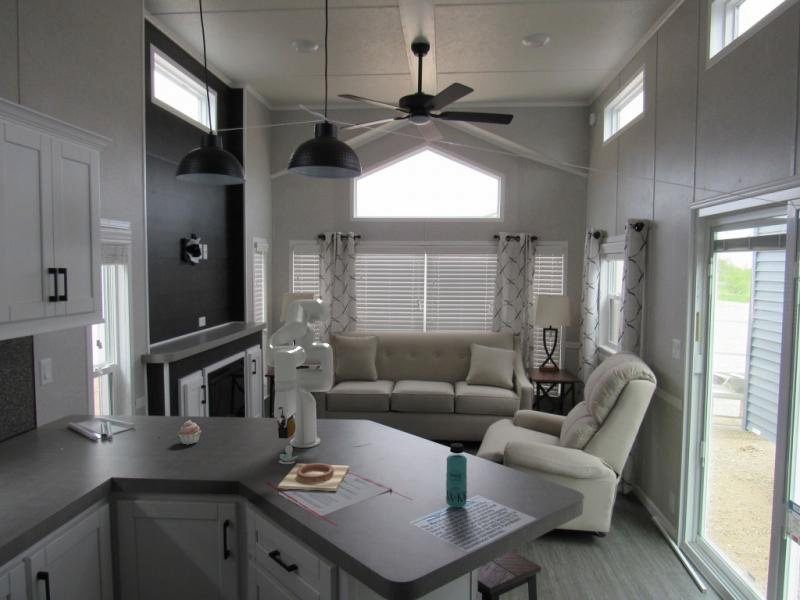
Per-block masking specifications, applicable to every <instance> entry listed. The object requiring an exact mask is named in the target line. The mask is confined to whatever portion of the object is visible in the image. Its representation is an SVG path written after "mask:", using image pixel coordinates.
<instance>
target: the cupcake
mask: <svg viewBox="0 0 800 600" xmlns="http://www.w3.org/2000/svg"><path fill="white" fill-rule="evenodd" d="M201 432H202V430H201V429H200V426H199V425H197V423H196V422H193V421H192V420H191V419H189V420H187V421H185V422H184V423H183V425H181V426H180V430H179V432H178V433H177V435H178V436H179V438H180V441H181V442H180V443H181V444H182V445H183V444H193V443H196V442H197V443H199V439H200V435H201ZM197 443H196V444H197ZM193 445H194V444H193Z"/></svg>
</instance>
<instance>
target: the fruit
mask: <svg viewBox="0 0 800 600" xmlns="http://www.w3.org/2000/svg"><path fill="white" fill-rule="evenodd" d="M282 418H285V417H282ZM282 421H283V422H284V421H285V420H282ZM286 427H288V438H287V439H289V438H290V437H292V436H294V432H295V427H296V426H295V421H294V419H293V418H292V417H289V418H288V419H287V426H286Z"/></svg>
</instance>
